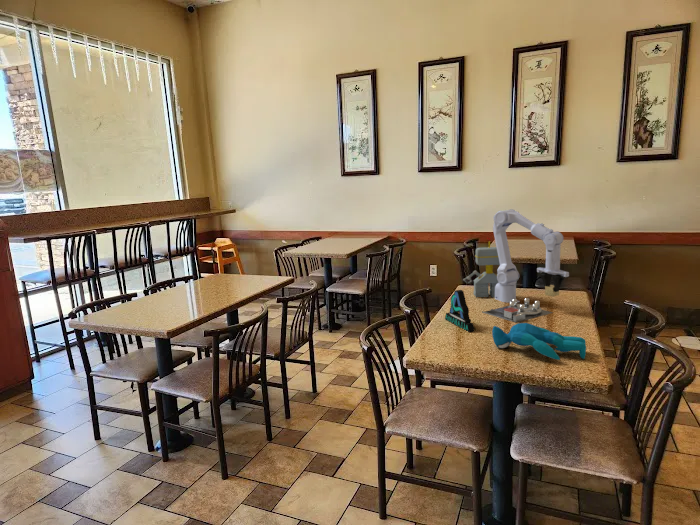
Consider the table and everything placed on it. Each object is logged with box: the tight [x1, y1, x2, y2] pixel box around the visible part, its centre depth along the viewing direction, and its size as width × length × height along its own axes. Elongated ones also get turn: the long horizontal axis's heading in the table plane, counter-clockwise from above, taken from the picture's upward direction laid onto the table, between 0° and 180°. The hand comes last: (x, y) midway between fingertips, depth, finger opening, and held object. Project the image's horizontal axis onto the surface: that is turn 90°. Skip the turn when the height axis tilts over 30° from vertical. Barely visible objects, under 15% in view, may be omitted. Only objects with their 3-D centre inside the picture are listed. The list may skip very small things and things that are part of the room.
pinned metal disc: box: [508, 297, 543, 316], centre depth 201 cm, size 14×14×4 cm
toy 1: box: [462, 237, 500, 299], centre depth 230 cm, size 26×9×30 cm, turn 84°
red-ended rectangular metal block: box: [504, 307, 518, 320], centre depth 192 cm, size 4×4×4 cm
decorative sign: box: [444, 289, 475, 333], centre depth 188 cm, size 19×2×15 cm, turn 18°
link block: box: [544, 284, 560, 297], centre depth 200 cm, size 4×4×4 cm
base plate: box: [481, 305, 554, 324], centre depth 200 cm, size 19×23×3 cm
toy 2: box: [491, 322, 587, 361], centre depth 157 cm, size 19×10×30 cm
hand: (551, 290), depth 200 cm, fingers closed on link block, 4 cm apart
